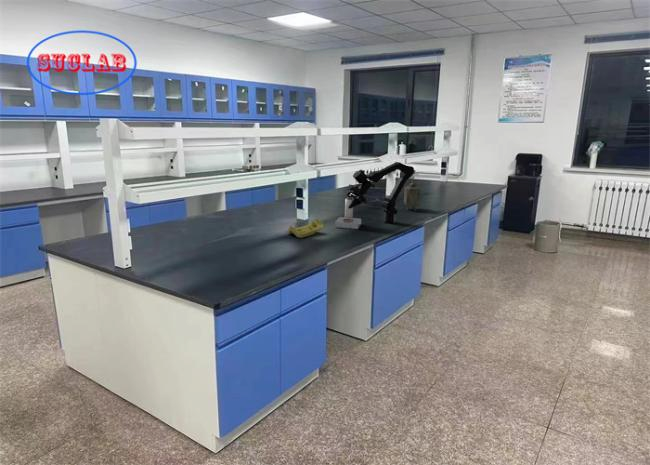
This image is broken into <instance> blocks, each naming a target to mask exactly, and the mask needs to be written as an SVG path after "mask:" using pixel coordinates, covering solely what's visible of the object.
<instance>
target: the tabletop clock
mask: <svg viewBox="0 0 650 465" xmlns="http://www.w3.org/2000/svg"><path fill="white" fill-rule="evenodd" d="M420 192H421V188H420V187H419V185H417V184H416V182H415V176H413V175H412V176H411V182H410V183H409V185H406V186H404V191H403V204H404V205H406V206H407V207H406V210H407V211H408V210H410V207H411V209H414V212H417V211H418V210H417V209H416V207H419V206H420V196H421V195H420V194H421V193H420Z"/></svg>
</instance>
